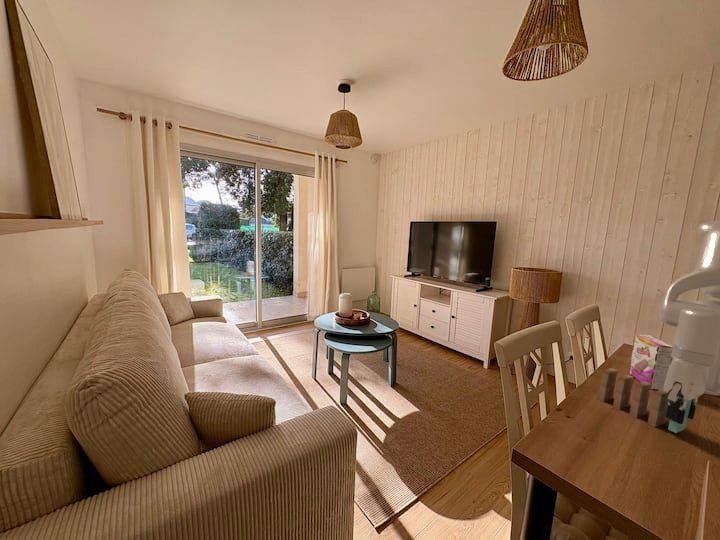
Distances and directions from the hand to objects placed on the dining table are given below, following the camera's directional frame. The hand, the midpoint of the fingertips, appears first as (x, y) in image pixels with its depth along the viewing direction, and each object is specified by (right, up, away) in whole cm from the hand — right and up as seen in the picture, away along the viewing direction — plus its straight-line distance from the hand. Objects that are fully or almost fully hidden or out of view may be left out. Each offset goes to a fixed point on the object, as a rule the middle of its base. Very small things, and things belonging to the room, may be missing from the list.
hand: (679, 417), depth 78 cm
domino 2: (-5, -3, +12) cm, 13 cm away
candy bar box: (+18, -1, +27) cm, 33 cm away
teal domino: (0, -3, +1) cm, 3 cm away
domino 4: (-2, -4, +5) cm, 6 cm away
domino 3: (-3, -3, +8) cm, 10 cm away
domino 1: (-6, -2, +16) cm, 17 cm away
